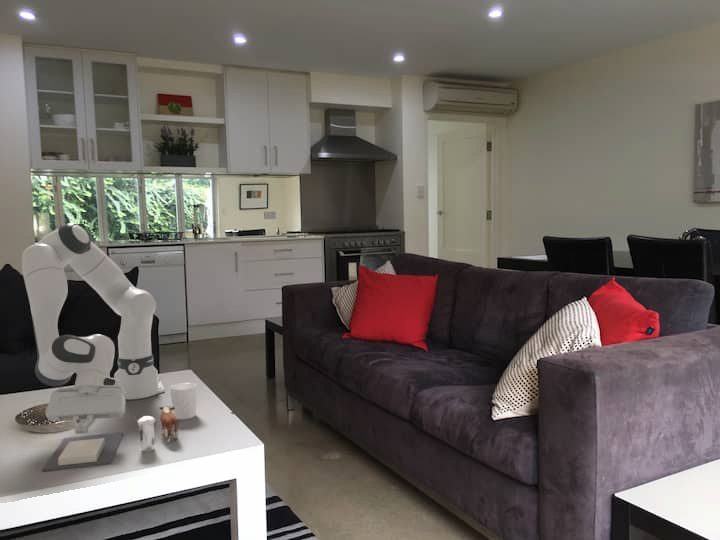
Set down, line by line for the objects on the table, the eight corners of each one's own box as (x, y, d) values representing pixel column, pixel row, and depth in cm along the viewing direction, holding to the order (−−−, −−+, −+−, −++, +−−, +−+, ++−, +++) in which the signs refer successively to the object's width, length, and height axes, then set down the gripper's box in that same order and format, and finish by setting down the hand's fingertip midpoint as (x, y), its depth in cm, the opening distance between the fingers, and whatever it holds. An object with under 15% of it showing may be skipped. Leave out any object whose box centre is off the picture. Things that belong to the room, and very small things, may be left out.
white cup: (190, 421, 181) (188, 389, 181) (167, 419, 183) (165, 388, 182) (202, 412, 189) (200, 382, 188) (179, 411, 191) (178, 382, 190)
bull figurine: (174, 427, 176) (173, 401, 175) (181, 442, 164) (179, 414, 163) (159, 430, 174) (157, 403, 173) (164, 445, 162) (163, 417, 161)
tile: (69, 441, 159) (58, 458, 148) (104, 437, 161) (96, 454, 150) (69, 448, 159) (58, 466, 148) (104, 444, 162) (96, 461, 150)
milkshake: (133, 449, 159) (131, 414, 158) (153, 445, 162) (151, 410, 161) (138, 455, 155) (136, 418, 155) (159, 449, 159) (157, 414, 158)
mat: (64, 440, 167) (64, 438, 167) (123, 434, 171) (123, 432, 171) (42, 471, 146) (42, 469, 146) (110, 463, 150) (110, 461, 150)
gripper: (49, 383, 162) (36, 430, 153) (125, 379, 164) (116, 425, 155) (56, 394, 167) (44, 440, 158) (130, 390, 169) (122, 435, 160)
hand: (80, 432), depth 157 cm, fingers closed
